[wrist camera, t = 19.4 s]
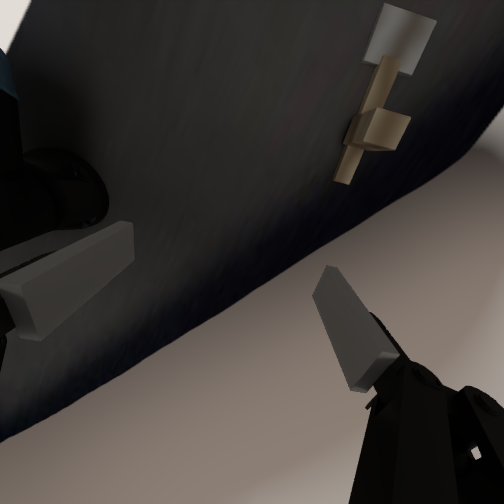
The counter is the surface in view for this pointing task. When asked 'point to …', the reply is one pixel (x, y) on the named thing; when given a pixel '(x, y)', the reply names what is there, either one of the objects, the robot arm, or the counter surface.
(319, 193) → the counter surface
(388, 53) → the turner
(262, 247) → the counter surface
